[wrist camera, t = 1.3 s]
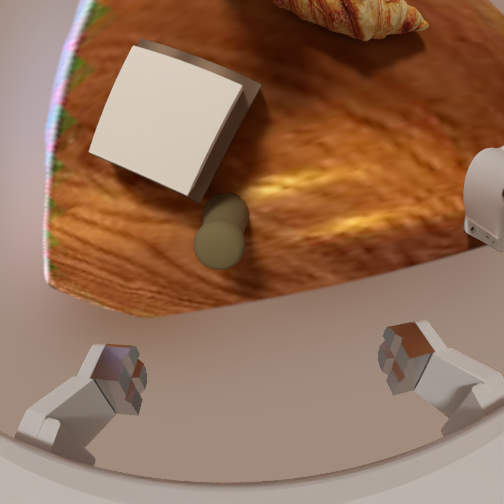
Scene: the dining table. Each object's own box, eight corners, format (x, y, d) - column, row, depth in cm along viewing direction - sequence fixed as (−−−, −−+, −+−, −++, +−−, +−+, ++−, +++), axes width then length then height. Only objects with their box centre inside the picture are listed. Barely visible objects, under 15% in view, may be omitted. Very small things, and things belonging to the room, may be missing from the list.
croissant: (405, 18, 27) (423, -16, 19) (432, 63, 26) (458, 27, 18) (264, 0, 27) (266, -45, 19) (274, 43, 25) (278, -11, 18)
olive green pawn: (222, 244, 39) (214, 289, 30) (193, 211, 37) (174, 246, 27) (258, 219, 38) (261, 257, 28) (229, 183, 36) (222, 209, 26)
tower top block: (243, 90, 27) (242, 85, 23) (194, 186, 31) (187, 195, 28) (146, 52, 24) (133, 45, 21) (105, 147, 29) (88, 152, 25)
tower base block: (260, 89, 31) (261, 84, 27) (206, 192, 37) (199, 203, 32) (154, 47, 28) (141, 38, 23) (108, 149, 34) (91, 154, 29)
